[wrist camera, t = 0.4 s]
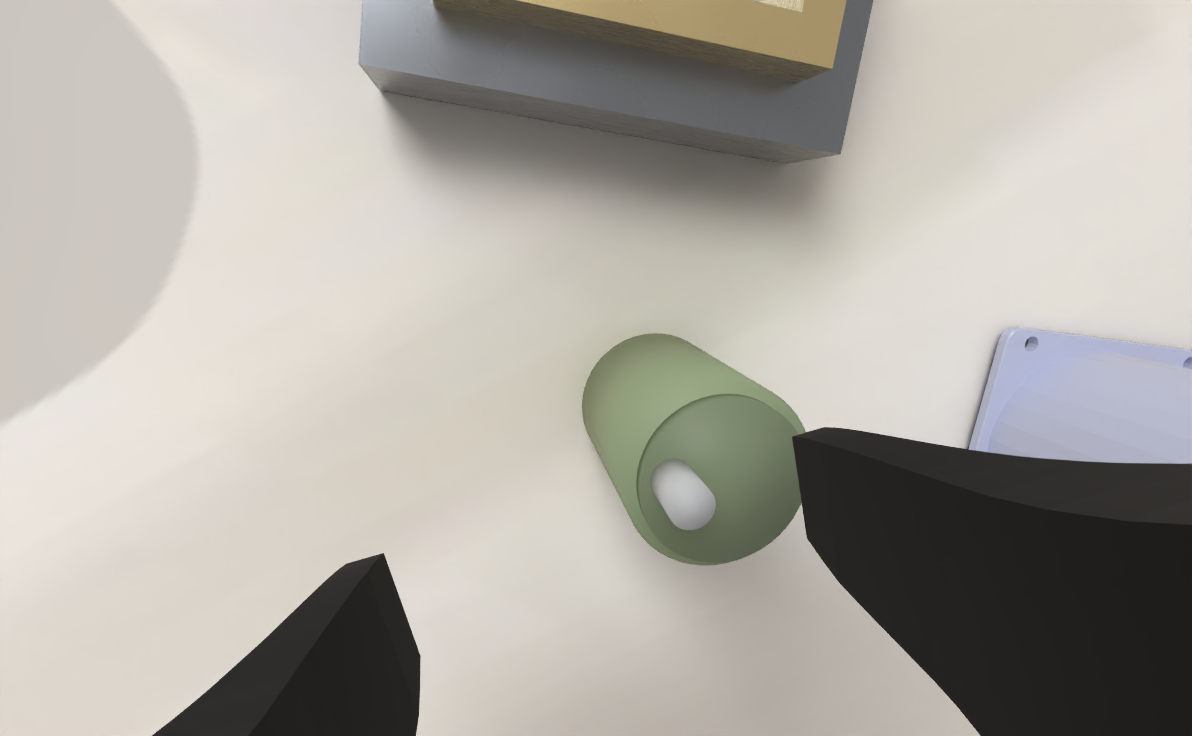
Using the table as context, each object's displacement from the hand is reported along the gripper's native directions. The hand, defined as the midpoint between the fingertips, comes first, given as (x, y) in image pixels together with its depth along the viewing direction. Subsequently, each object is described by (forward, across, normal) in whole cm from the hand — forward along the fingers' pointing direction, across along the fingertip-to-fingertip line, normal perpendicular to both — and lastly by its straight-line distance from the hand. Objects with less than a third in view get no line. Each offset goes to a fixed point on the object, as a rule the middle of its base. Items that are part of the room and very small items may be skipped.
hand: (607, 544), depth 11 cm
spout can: (+10, -3, +1) cm, 10 cm away
